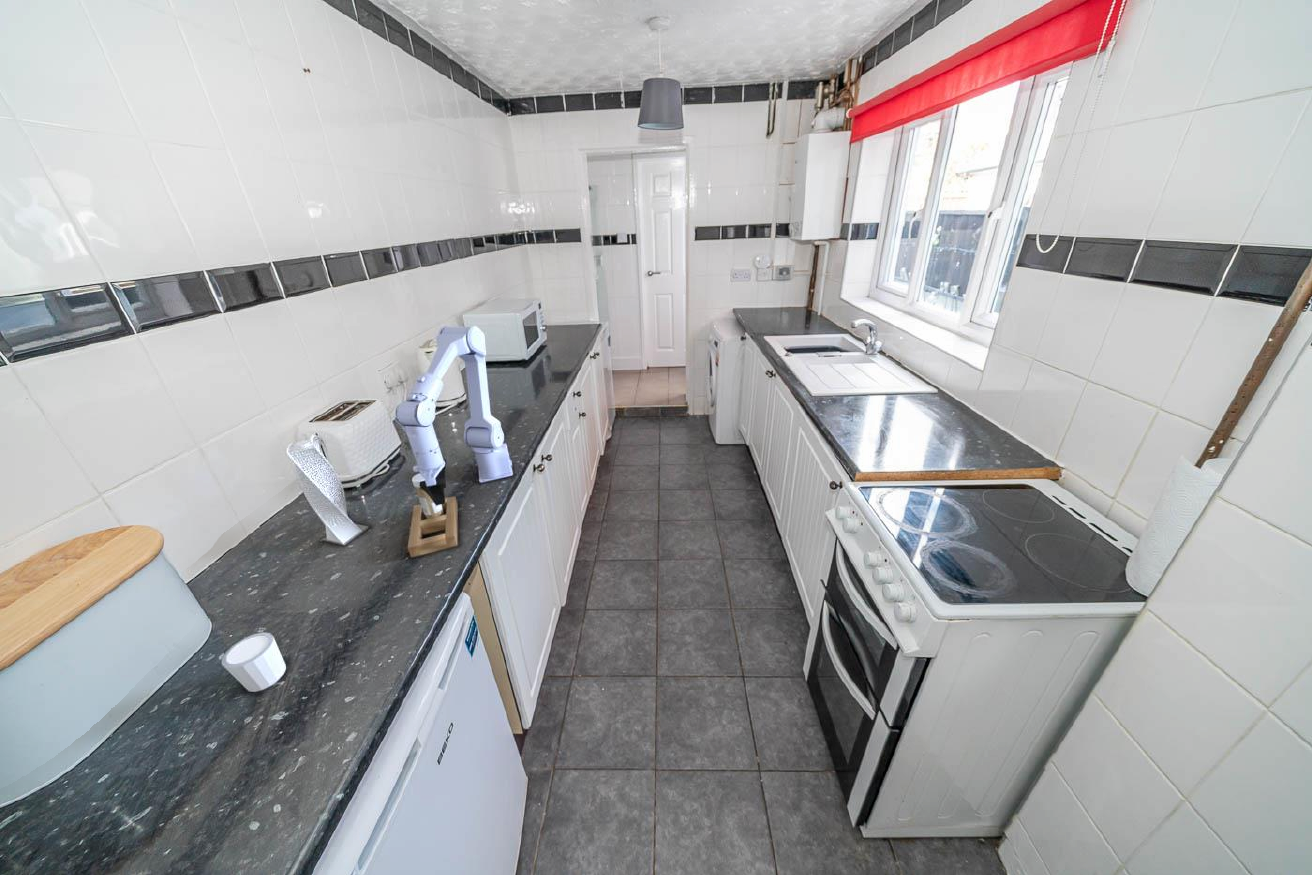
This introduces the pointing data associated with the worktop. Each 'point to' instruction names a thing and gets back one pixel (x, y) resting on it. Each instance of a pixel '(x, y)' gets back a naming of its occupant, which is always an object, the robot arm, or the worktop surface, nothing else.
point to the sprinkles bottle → (426, 499)
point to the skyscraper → (323, 490)
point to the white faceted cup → (255, 661)
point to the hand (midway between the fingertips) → (441, 495)
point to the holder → (433, 529)
